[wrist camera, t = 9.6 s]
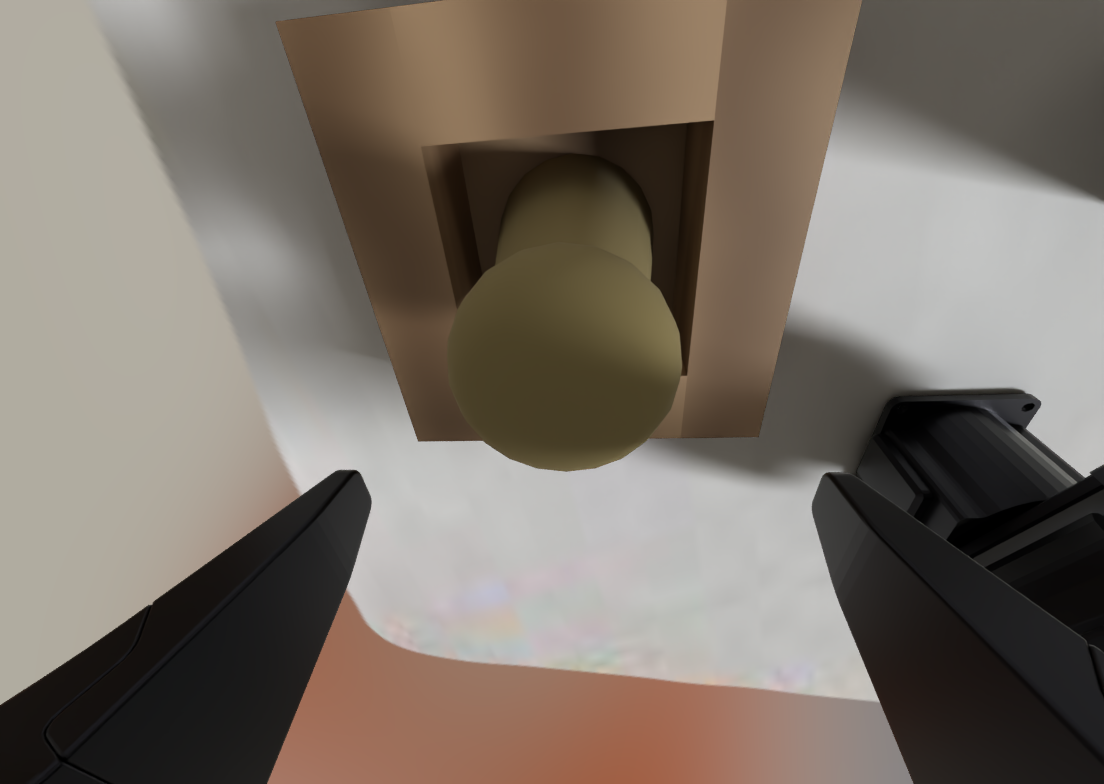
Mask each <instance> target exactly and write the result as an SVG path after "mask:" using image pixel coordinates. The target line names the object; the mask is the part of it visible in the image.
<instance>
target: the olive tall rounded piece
mask: <svg viewBox="0 0 1104 784" xmlns="http://www.w3.org/2000/svg"><path fill="white" fill-rule="evenodd" d="M653 240H654V232H653V222H652V212H651V208H650V206H649V204H648V202H647V200H646V197H645V195H644V193H643V191H642V189H641V187H640V186H639V185H638V183H637V182H636V181H635V180H634V179H633V178H632V177H631V176H630V175H629V174H628V173H627V172H626V171H625V170H624V169H623V168H622V167H620V166H618V165H616V164H614V163H612V162H610V161H608V160H605V159H603V158H601V157H599V156H592V155H583V154H573V153H572V154H568V155H564V156H560V157H556V158H552V159H548V160H546V161H544V162H543V163H541V164H540V165H538V166H537V167H535V168H534V169H532V170H531V171H529V172H528V173H526V174H525V175H524V176H523V178H522V179H521V180H520V182H519V183H518V184H517V186H516V187H515V188H514V190H513V191H512V192H511V193H510V195H509V197H508V200H507V203H506V206H505V209H504V212H503V215H502V218H501V224H500V232H499V239H498V247H497V254H496V262H495V266H494V267H492V268H490V269H489V270H487V271H486V272H485V273H484V274H483V275H482V277H481V278H480V279H479V280H478V282H477V283H476V284H475V285H474V287H473V288H472V289H471V290H470V292H469V293H468V294H467V295H466V296H465V298H464V299H463V301H462V303H461V304H460V306H459V307H458V309H457V312H456V316H455V319H454V322H453V325H452V328H451V331H450V334H449V337H448V343H447V362H448V378H449V386H450V388H451V390H452V393H453V395H454V397H455V400H456V402H457V404H458V406H459V409H460V411H461V413H462V415H463V416H464V418H465V420H466V421H467V423H468V424H469V425H470V426H471V427H472V428H473V430H474V431H475V432H476V433H477V434H478V435H479V436H480V437H481V439H482V440H483V441H484V442H485V443H486V444H488V445H489V446H491V447H492V448H494V449H495V450H497V451H498V452H500V453H502V454H503V455H505V456H506V457H508V458H509V459H512V460H515V461H518V462H520V463H523V464H526V465H529V466H532V467H535V468H539V469H548V470H557V471H566V472H567V471H575V470H584V469H593V468H597V467H600V466H603V465H605V464H608V463H611V462H614V461H616V460H619V459H622V458H623V457H625V456H626V455H628V454H629V453H630V452H632V451H633V450H635V449H636V448H637V447H639V446H640V445H642V444H643V443H645V442H646V441H647V439H648V438H649V437H650V436H651V435H652V434H653V433H654V431H655V430H656V429H657V427H658V426H659V425H660V423H661V422H662V421H663V419H664V418H665V417H666V415H667V414H668V413H669V411H670V410H671V408H672V405H673V402H674V398H675V395H676V392H677V388H678V385H679V382H680V377H681V371H682V357H681V344H680V333H679V330H678V327H677V325H676V322H675V320H674V318H673V316H672V314H671V311H670V309H669V307H668V305H667V303H666V301H665V299H664V297H663V295H662V293H661V291H660V289H658V288H657V287H656V286H655V285H654V284H653V283H652V282H651V268H652V254H653Z"/></svg>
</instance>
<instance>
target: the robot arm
mask: <svg viewBox="0 0 1104 784" xmlns="http://www.w3.org/2000/svg"><path fill="white" fill-rule="evenodd" d="M900 406H901V407H900ZM1040 406H1041V401H1040V400H1038V399H1037V398H1036V397H1034V396H1033V395H1031V394H995V395H950V396H904V397H896V398H893V399H891V400H890V401H889V402H888V403H887V404H886V406H885V408H884V411H883V413H882V415H881V418H880V420H879V422H878V425H877V427H876V429H875V432H874V434H873V436H872V438H871V440H870V442H869V444H868V447H867V449H866V451H865V454H864V456H863V458H862V461H861V463H860V465H859V468H858V470H857V474H856V476H855V475H853V474H851V473H847V472H828V473H825V474H824V475H823V476H822V478H821V481H820V483H819V486H818V489H817V491H816V494H815V496H814V499H813V502H812V514H813V518H814V521H815V525H816V528H817V532H818V535H819V539H820V542H821V546H822V549H823V553H824V556H825V559H826V563H827V566H828V570H829V573H830V577H831V580H832V584H833V587H834V590H835V593H836V596H837V598H838V601H839V604H840V606H841V609H842V611H843V614H844V616H845V618H846V621H847V623H848V626H849V628H850V630H851V633H852V635H853V638H854V640H855V643H856V645H857V647H858V650H859V652H860V655H861V657H862V660H863V662H864V664H865V667H866V669H867V672H868V674H869V677H870V679H871V681H872V684H873V686H874V689H875V691H876V694H877V696H878V698H879V701H880V703H881V706H882V708H883V711H884V713H885V715H886V718H887V720H888V723H889V725H890V727H891V730H892V732H893V734H894V737H895V740H896V742H897V744H898V747H899V749H900V752H901V754H902V756H903V759H904V762H905V764H906V766H907V769H908V771H909V774H910V776H911V779H912V781H913V783H914V784H1104V465H1102V466H1100V467H1098V468H1096V469H1095V470H1093V471H1091V472H1090V474H1091V475H1090V476H1088V477H1086V478H1085V477H1083V476H1082V475H1081V474H1080V473H1078V472H1077V471H1076V470H1075V469H1074V468H1072V467H1071V466H1070V465H1069V464H1068V463H1066V462H1065V461H1064V460H1063V459H1062V458H1060V457H1059V456H1058V455H1057V454H1055V453H1054V452H1053V451H1052V450H1051V449H1049V448H1048V447H1047V446H1046V445H1045V444H1043V443H1042V442H1041V441H1040V440H1039V439H1037V438H1036V437H1035V436H1034V435H1032V434H1031V433H1030V432H1029V431H1028V430H1026V427H1027V426H1028V424H1029V423H1030V421H1031V420H1032V418H1033V417H1034V415H1035V414H1036V412H1037V411H1038V409H1039V408H1040ZM898 407H900V408H898ZM897 408H898V409H897ZM371 504H372V502H371V496H370V494H369V491H368V489H367V487H366V485H365V482H364V480H363V478H362V476H361V474H360V473H359V472H358V471H357V470H338V471H335V472H334V473H332V474H331V475H329V476H328V477H327V478H325V479H324V480H322V481H321V482H320V483H318V484H317V485H315V486H314V487H313V488H311V489H310V490H308V491H307V492H306V493H304V494H303V495H302V496H300V497H299V498H297V499H296V500H295V501H293V502H292V503H290V504H289V505H288V506H286V507H285V508H283V509H282V510H281V511H279V512H278V513H276V514H275V515H274V516H272V517H271V518H270V519H268V520H267V521H265V522H264V523H262V524H261V525H260V526H259V527H257V528H256V529H254V530H253V531H251V532H250V533H248V534H247V535H246V536H244V537H243V538H242V539H240V540H239V541H237V542H236V543H235V544H233V545H232V546H230V547H229V548H228V549H226V550H225V551H223V552H222V553H221V554H219V555H218V556H216V557H215V558H214V559H212V560H211V561H209V562H208V563H207V564H205V565H204V566H202V567H201V568H200V569H198V570H197V571H196V572H194V573H193V574H191V575H190V576H188V577H187V578H186V579H184V580H183V581H181V582H180V583H179V584H177V585H176V586H174V587H173V588H172V589H170V590H169V591H168V592H166V593H165V594H163V595H162V596H160V597H159V598H158V599H156V600H155V601H154V602H153V604H152V605H148V606H146V607H145V608H144V609H142V610H141V611H139V612H138V613H137V614H135V615H134V616H132V617H131V618H130V619H128V620H127V621H126V622H124V623H123V624H121V625H120V626H118V627H117V628H115V629H114V630H113V631H112V632H110V633H108V634H107V635H105V636H104V637H103V638H101V639H100V640H98V641H97V642H95V643H94V644H93V645H91V646H90V647H88V648H87V649H85V650H84V651H82V652H81V653H79V654H78V655H76V656H75V657H73V658H72V659H70V660H69V661H67V662H66V663H64V664H63V665H61V666H60V667H58V668H57V669H55V670H54V671H52V672H51V673H49V674H47V675H46V676H44V677H43V678H42V679H40V680H38V681H37V682H36V683H34V684H32V685H31V686H29V687H28V688H26V689H24V690H23V691H21V692H20V693H18V694H17V695H15V696H14V697H12V698H10V699H9V700H7V701H6V702H4V703H3V704H1V705H0V784H267V782H268V780H269V777H270V775H271V773H272V770H273V768H274V765H275V763H276V760H277V758H278V755H279V753H280V751H281V748H282V745H283V743H284V741H285V738H286V736H287V733H288V731H289V728H290V726H291V723H292V721H293V718H294V716H295V713H296V711H297V709H298V706H299V704H300V701H301V699H302V696H303V694H304V691H305V689H306V687H307V684H308V682H309V679H310V677H311V674H312V672H313V669H314V667H315V664H316V662H317V659H318V657H319V654H320V652H321V650H322V647H323V645H324V642H325V640H326V637H327V635H328V632H329V630H330V627H331V625H332V622H333V620H334V618H335V615H336V613H337V610H338V608H339V605H340V603H341V600H342V598H343V595H344V593H345V591H346V588H347V585H348V583H349V580H350V578H351V574H352V571H353V568H354V565H355V562H356V558H357V555H358V551H359V548H360V544H361V541H362V538H363V534H364V531H365V527H366V524H367V520H368V517H369V513H370V510H371Z"/></svg>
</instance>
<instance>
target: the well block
mask: <svg viewBox="0 0 1104 784" xmlns="http://www.w3.org/2000/svg"><path fill="white" fill-rule="evenodd" d="M861 3H862V0H442V1H434V2H426V3H418V4H411V5H403V6H395V7H387V8H379V9H371V10H363V11H355V12H347V13H339V14H331V15H323V16H315V17H308V18H300V19H292V20H284V21H276V25H277V28H278V31H279V34H280V37H281V40H282V43H283V46H284V49H285V51H286V54H287V57H288V60H289V63H290V66H291V69H292V72H293V75H294V78H295V81H296V84H297V87H298V90H299V93H300V96H301V98H302V101H303V104H304V107H305V110H306V113H307V116H308V119H309V122H310V125H311V128H312V131H313V134H314V137H315V140H316V143H317V146H318V148H319V151H320V154H321V157H322V160H323V163H324V166H325V169H326V172H327V175H328V178H329V181H330V184H331V187H332V190H333V193H334V195H335V198H336V201H337V204H338V207H339V210H340V213H341V216H342V219H343V222H344V225H345V228H346V231H347V234H348V237H349V240H350V242H351V245H352V248H353V251H354V254H355V257H356V260H357V263H358V266H359V269H360V272H361V275H362V278H363V281H364V284H365V287H366V290H367V292H368V295H369V298H370V301H371V304H372V307H373V310H374V313H375V316H376V319H377V322H378V325H379V328H380V331H381V334H382V337H383V339H384V342H385V345H386V348H387V351H388V354H389V357H390V360H391V363H392V366H393V369H394V372H395V375H396V378H397V381H398V384H399V386H400V389H401V392H402V395H403V398H404V401H405V404H406V407H407V410H408V413H409V416H410V419H411V422H412V425H413V428H414V431H415V434H416V436H417V439H418V441H483V440H482V439H481V437H480V436H479V435H478V434H477V433H476V432H475V431H474V430H473V428H472V427H471V426H470V425H469V424H468V423H467V421H466V420H465V418H464V416H463V415H462V413H461V411H460V409H459V406H458V404H457V402H456V400H455V397H454V395H453V393H452V390H451V388H450V386H449V378H448V362H447V343H448V337H449V334H450V331H451V328H452V325H453V322H454V319H455V316H456V312H457V309H458V307H459V306H460V304H461V303H462V301H463V299H464V298H465V296H466V295H467V294H468V293H469V292H470V290H471V289H472V288H473V287H474V285H475V284H476V283H477V282H478V280H479V279H480V278H481V277H482V275H483V274H484V273H485V272H486V271H487V270H489V269H490V268H492V267H494V266H495V262H496V254H497V247H498V239H499V232H500V224H501V218H502V215H503V212H504V209H505V206H506V203H507V200H508V197H509V195H510V193H511V192H512V191H513V190H514V188H515V187H516V186H517V184H518V183H519V182H520V180H521V179H522V178H523V176H524V175H525V174H526V173H528V172H529V171H531V170H532V169H534V168H535V167H537V166H538V165H540V164H541V163H543V162H544V161H546V160H548V159H552V158H556V157H560V156H564V155H568V154H572V153H573V154H583V155H592V156H599V157H601V158H603V159H605V160H608V161H610V162H612V163H614V164H616V165H618V166H620V167H622V168H623V169H624V170H625V171H626V172H627V173H628V174H629V175H630V176H631V177H632V178H633V179H634V180H635V181H636V182H637V183H638V185H639V186H640V187H641V189H642V191H643V193H644V195H645V197H646V200H647V202H648V204H649V206H650V208H651V212H652V222H653V232H654V240H653V254H652V268H651V282H652V283H653V284H654V285H655V286H656V287H657V288H658V289H660V291H661V293H662V295H663V297H664V299H665V301H666V303H667V305H668V307H669V309H670V311H671V314H672V316H673V318H674V320H675V322H676V325H677V327H678V330H679V333H680V344H681V357H682V371H681V377H680V382H679V385H678V388H677V392H676V395H675V398H674V402H673V405H672V408H671V410H670V411H669V413H668V414H667V415H666V417H665V418H664V419H663V421H662V422H661V423H660V425H659V426H658V427H657V429H656V430H655V431H654V433H653V434H652V435H651V436H650V437H649V438H723V437H759V433H760V429H761V425H762V420H763V416H764V412H765V408H766V404H767V399H768V395H769V391H770V387H771V382H772V378H773V374H774V370H775V366H776V361H777V357H778V353H779V349H780V345H781V340H782V336H783V332H784V328H785V324H786V319H787V315H788V311H789V307H790V302H791V298H792V294H793V290H794V286H795V281H796V277H797V273H798V269H799V265H800V260H801V256H802V252H803V248H804V244H805V239H806V235H807V231H808V227H809V222H810V218H811V214H812V210H813V206H814V201H815V197H816V193H817V189H818V185H819V180H820V176H821V172H822V168H823V163H824V159H825V155H826V151H827V147H828V142H829V138H830V134H831V130H832V126H833V121H834V117H835V113H836V109H837V105H838V100H839V96H840V92H841V88H842V83H843V79H844V75H845V71H846V67H847V62H848V58H849V54H850V50H851V46H852V41H853V37H854V33H855V29H856V24H857V20H858V16H859V12H860V8H861Z"/></svg>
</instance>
